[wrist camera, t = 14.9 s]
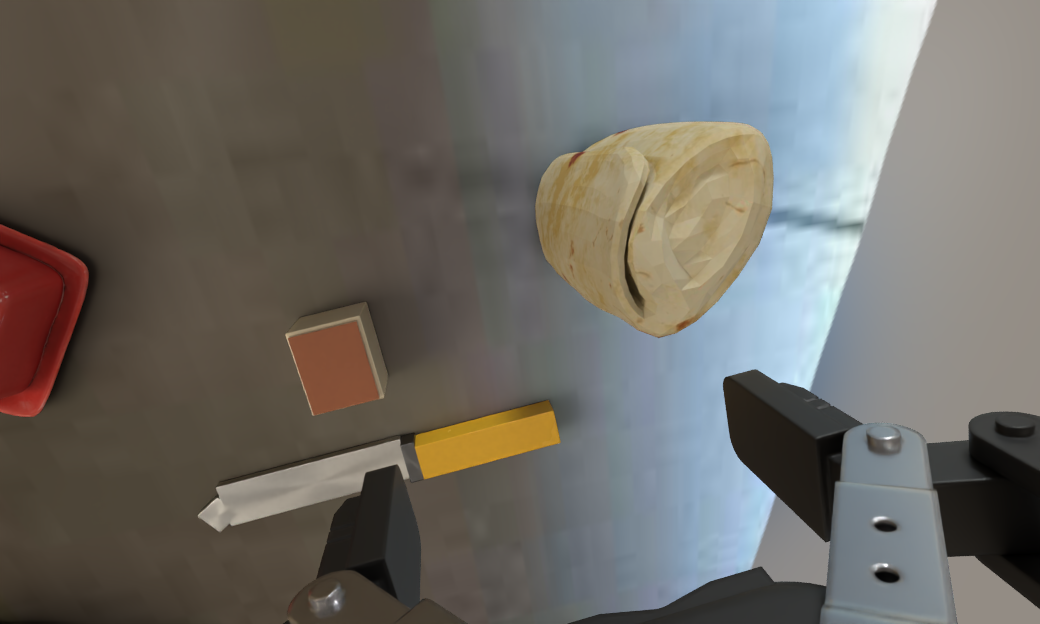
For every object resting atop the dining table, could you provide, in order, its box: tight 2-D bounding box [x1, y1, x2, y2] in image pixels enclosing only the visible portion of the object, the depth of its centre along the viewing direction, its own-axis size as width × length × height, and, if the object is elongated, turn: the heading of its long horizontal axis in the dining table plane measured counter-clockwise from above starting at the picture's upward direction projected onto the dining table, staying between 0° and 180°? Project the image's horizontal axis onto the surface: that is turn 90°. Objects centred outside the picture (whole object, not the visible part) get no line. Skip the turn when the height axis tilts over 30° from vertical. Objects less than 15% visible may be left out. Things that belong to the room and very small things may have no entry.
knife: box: [198, 400, 560, 532], centre depth 43 cm, size 26×3×2 cm, turn 102°
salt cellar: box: [285, 302, 388, 416], centre depth 39 cm, size 5×6×4 cm
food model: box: [535, 122, 774, 338], centre depth 32 cm, size 10×7×20 cm
